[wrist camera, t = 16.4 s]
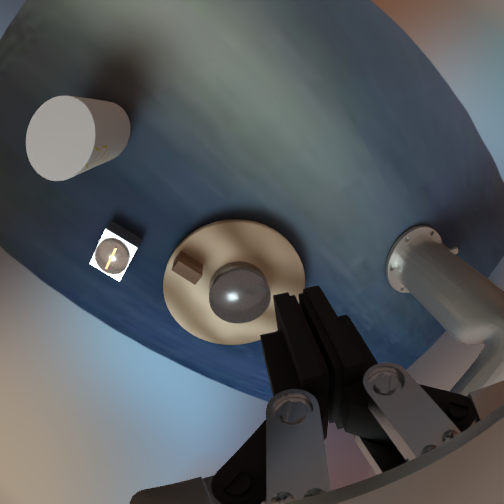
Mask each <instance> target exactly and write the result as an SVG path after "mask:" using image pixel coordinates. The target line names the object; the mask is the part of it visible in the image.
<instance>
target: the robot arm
mask: <svg viewBox="0 0 504 504" xmlns="http://www.w3.org/2000/svg"><path fill="white" fill-rule="evenodd" d="M457 253H458V248H457V247H452V248H450V249H449V248H448V247H446V246H445V245H443V243H442V240H441V237H440V235H439V234H438V232H437V231H435V230H434V229H432V228H431V227H428V226H425V225H420V226H415V227H413V228H410V229H409V230H407V231H406V232H404V233H403V234H402V235H401V236H400V237H399V238H398V239H397V241H396V242H395V243H394V245H393V246H392V248H391V250H390V252H389V254H388V257H387V261H386V268H385V269H386V277H387V280H388V282H389V284H390V285H391V286H392V287H393V288H394V289H395V290H397V291H399V292H402V293H409V292H410V293H411V294H412V295H413V296H414V297H415V298H416V299H417V300H418V301H419V302H420V303H421V304H422V305H423V306H424V307H425V308H426V309H427V310H428V311H429V312H430V313H431V314H432V315H433V317H434V318H435V319H436V320H437V321H438V322H439V323H440V324H441V325H442V326H443V327H444V328H445V330H446V331H447V332H448V333H449V334H450V335H451V336H452V337H453V338H454V339H455V340H456V341H458V342H460V343H462V344H466V345H480V344H485V346H484V348H483V350H482V351H481V353H480V354H479V356H478V358H477V359H476V360H475V362H474V363H473V364H472V365H471V366H470V368H469V369H468V370H467V371H466V373H465V374H464V375H463V376H462V377H461V379H460V380H459V381H458V382H457V383H456V384H455V385H454V387H453V388H452V389H451V390H450V392H449V391H445V390H440V389H436V388H432V387H428V386H424V385H420V384H418V383H417V382H416V381H415V380H414V379H413V378H412V377H411V375H409V373H408V372H407V371H406V370H405V369H404V368H402V367H401V366H399V365H397V364H395V363H389V362H385V363H379V364H378V363H377V361H376V360H375V358H374V356H373V355H372V353H371V351H370V350H369V348H368V347H367V345H366V343H365V342H364V340H363V339H362V337H361V335H360V334H359V332H358V331H357V329H356V327H355V326H354V324H353V323H352V321H351V320H350V318H349V317H348V316H347V315H343V316H339V317H337V315H336V313H335V312H334V310H333V308H332V307H331V305H330V303H329V302H328V300H327V298H326V297H325V295H324V293H323V292H322V290H321V288H320V287H319V286H314V287H309V288H305V289H303V293H301V294H299V303H298V301H297V298H296V296H295V295H292V296H290V295H289V293H288V292H287V293H282V294H277V295H273V300H274V307H275V315H276V322H277V329H278V331H276V332H272V333H267V334H262V335H260V338H261V343H262V348H263V353H264V358H265V363H266V368H267V372H268V376H269V381H270V385H271V389H272V393H273V397H272V398H271V399H270V401H269V403H268V405H267V408H266V420H265V421H264V422H263V423H262V425H261V426H260V427H259V428H258V429H257V430H256V431H255V432H254V434H253V435H252V436H251V437H250V438H249V439H248V440H247V441H246V442H245V443H244V444H243V446H242V447H241V448H240V449H239V450H238V451H237V452H236V453H235V454H234V455H233V456H232V457H231V458H230V459H229V460H228V461H227V462H226V464H225V465H223V466H222V468H221V469H219V470H218V471H217V473H216V474H215V475H214V476H210V477H206V478H203V479H202V477H198V478H194V479H190V480H187V481H183V482H179V483H174V484H169V485H165V486H160V487H155V488H150V489H144V490H141V491H139V492H137V493H136V494H135V495H134V496H132V499H131V501H130V504H504V291H503V290H502V289H500V288H499V287H498V286H496V285H495V284H494V283H492V282H491V281H490V280H489V279H487V278H486V277H485V276H483V275H482V274H481V273H479V272H478V271H477V270H475V269H474V268H473V267H471V266H470V265H469V264H467V263H466V262H465V261H463V260H462V259H460V258H459V257H458V256H456V255H455V254H457ZM328 420H329V422H330V423H333V422H335V423H336V426H337V428H338V429H341V428H344V430H345V432H348V433H351V434H353V437H354V440H355V441H356V443H357V444H358V446H359V448H360V449H361V451H362V452H363V454H364V455H365V457H366V459H367V460H368V462H369V463H370V465H371V466H372V468H373V470H374V471H375V473H376V474H377V475H376V476H373V477H371V478H368V479H365V480H363V481H360V482H357V483H354V484H351V485H348V486H345V487H342V488H339V489H336V490H332V491H331V489H330V480H329V472H328V466H327V458H326V450H325V443H324V440H325V439H326V437H327V427H328Z"/></svg>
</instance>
